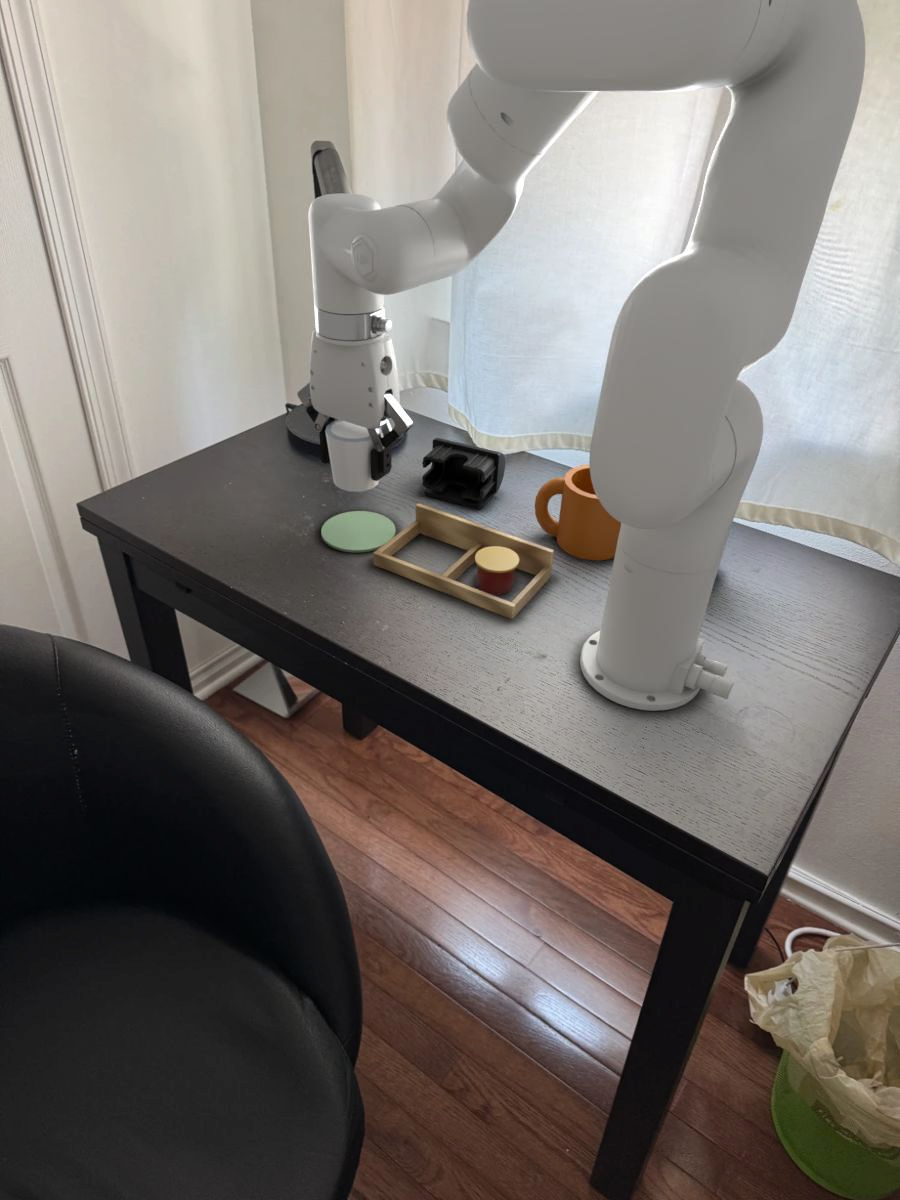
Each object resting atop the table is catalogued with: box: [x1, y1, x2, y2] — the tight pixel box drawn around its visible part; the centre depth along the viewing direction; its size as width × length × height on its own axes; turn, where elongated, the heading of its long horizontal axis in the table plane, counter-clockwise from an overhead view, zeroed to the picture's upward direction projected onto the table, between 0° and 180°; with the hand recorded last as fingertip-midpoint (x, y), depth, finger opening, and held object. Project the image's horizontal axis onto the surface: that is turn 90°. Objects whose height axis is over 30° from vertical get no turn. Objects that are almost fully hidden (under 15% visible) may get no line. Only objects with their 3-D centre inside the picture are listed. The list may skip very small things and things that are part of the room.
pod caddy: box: [372, 503, 555, 620], centre depth 95 cm, size 19×10×4 cm, turn 59°
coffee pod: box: [474, 546, 519, 595], centre depth 94 cm, size 5×5×4 cm
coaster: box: [320, 510, 397, 554], centre depth 103 cm, size 10×10×1 cm
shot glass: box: [325, 419, 383, 493], centre depth 96 cm, size 7×7×7 cm
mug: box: [534, 464, 621, 561], centre depth 101 cm, size 9×12×9 cm
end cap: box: [421, 437, 506, 510], centre depth 110 cm, size 10×7×7 cm
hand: (355, 466), depth 97 cm, fingers closed on shot glass, 6 cm apart
